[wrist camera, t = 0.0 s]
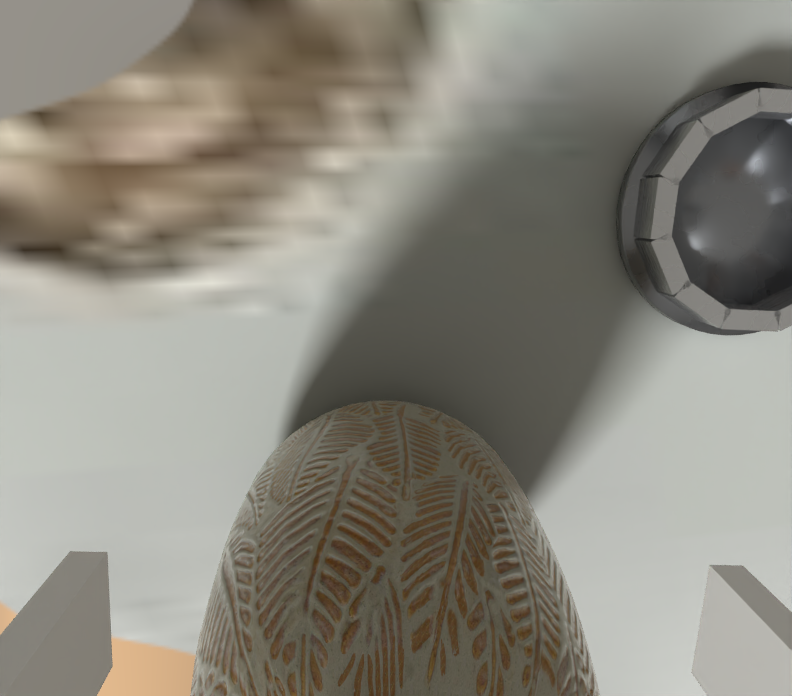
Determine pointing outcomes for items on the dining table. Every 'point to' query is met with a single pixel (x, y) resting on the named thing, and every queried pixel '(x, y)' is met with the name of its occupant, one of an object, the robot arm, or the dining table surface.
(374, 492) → the vase
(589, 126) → the dining table surface
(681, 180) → the ring
